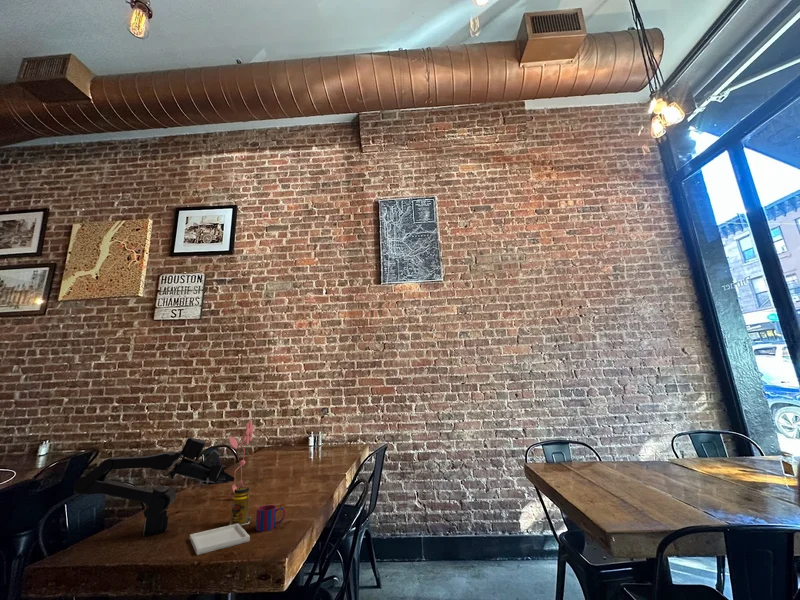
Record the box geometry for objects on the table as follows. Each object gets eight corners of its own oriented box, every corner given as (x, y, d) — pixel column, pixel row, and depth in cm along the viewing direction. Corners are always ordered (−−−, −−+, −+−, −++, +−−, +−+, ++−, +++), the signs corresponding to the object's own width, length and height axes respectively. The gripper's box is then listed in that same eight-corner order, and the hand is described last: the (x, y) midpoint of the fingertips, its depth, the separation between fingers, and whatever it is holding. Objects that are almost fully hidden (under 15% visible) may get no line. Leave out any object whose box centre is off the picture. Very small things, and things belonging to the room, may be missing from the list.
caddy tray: (196, 555, 110) (197, 549, 111) (189, 539, 123) (190, 534, 123) (249, 541, 120) (250, 536, 120) (238, 527, 132) (238, 523, 132)
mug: (258, 525, 134) (259, 505, 135) (285, 523, 135) (286, 503, 136) (253, 532, 127) (254, 511, 129) (282, 530, 128) (283, 509, 130)
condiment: (228, 527, 133) (230, 491, 136) (231, 519, 141) (233, 486, 144) (249, 524, 135) (251, 489, 138) (251, 517, 143) (253, 484, 146)
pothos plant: (217, 504, 159) (226, 422, 168) (238, 489, 184) (245, 418, 192) (252, 504, 160) (260, 422, 168) (269, 488, 185) (274, 417, 193)
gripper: (207, 444, 136) (246, 456, 142) (198, 450, 149) (234, 461, 155) (192, 475, 129) (234, 487, 135) (183, 479, 142) (222, 490, 148)
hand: (231, 480), depth 144 cm, fingers open, 9 cm apart
